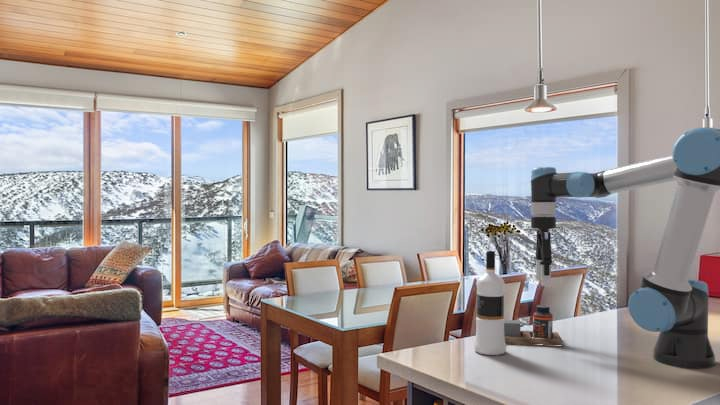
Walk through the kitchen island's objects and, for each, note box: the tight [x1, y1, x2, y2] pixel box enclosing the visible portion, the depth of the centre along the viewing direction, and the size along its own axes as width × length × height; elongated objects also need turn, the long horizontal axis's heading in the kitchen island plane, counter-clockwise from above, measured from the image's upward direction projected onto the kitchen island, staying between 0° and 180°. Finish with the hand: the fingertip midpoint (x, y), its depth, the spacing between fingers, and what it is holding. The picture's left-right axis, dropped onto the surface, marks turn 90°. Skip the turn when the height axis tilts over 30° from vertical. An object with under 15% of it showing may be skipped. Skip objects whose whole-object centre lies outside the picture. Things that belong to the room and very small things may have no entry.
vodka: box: [473, 250, 507, 357], centre depth 171 cm, size 9×9×30 cm
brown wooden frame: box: [505, 330, 563, 346], centre depth 184 cm, size 20×10×2 cm, turn 79°
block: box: [504, 319, 521, 337], centre depth 185 cm, size 5×5×6 cm
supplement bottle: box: [532, 304, 554, 338], centre depth 184 cm, size 6×6×11 cm
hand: (543, 282), depth 183 cm, fingers open, 13 cm apart
